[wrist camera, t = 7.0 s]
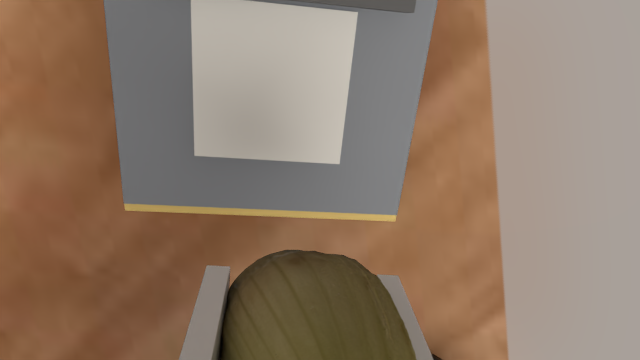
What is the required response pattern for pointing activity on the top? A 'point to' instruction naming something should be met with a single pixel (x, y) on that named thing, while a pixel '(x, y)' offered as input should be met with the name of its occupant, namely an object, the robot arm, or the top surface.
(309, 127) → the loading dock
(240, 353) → the fennel bulb
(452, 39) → the top surface
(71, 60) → the top surface
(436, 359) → the french press
